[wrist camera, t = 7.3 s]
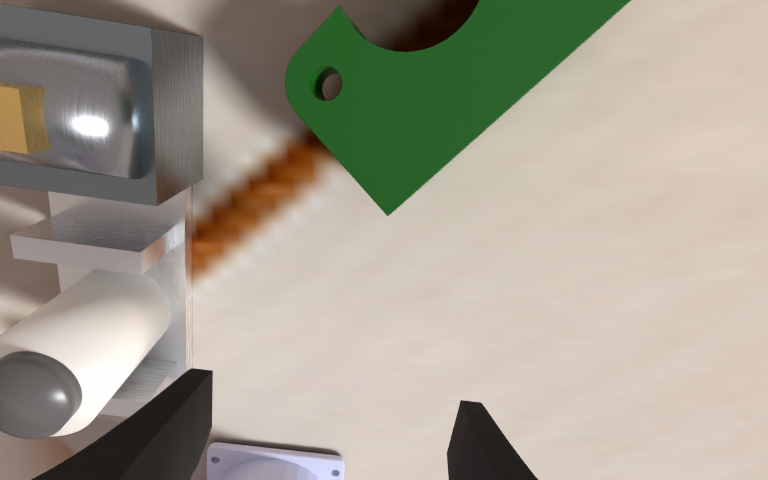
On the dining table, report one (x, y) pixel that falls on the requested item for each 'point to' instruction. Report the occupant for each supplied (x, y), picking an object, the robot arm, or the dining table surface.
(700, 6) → the dining table surface
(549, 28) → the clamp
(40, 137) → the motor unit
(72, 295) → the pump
